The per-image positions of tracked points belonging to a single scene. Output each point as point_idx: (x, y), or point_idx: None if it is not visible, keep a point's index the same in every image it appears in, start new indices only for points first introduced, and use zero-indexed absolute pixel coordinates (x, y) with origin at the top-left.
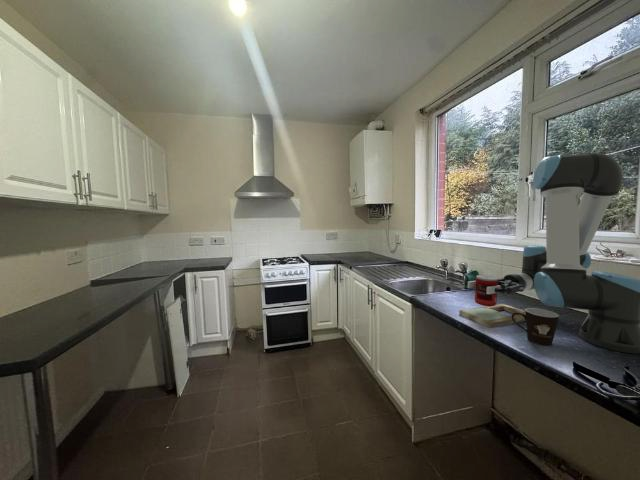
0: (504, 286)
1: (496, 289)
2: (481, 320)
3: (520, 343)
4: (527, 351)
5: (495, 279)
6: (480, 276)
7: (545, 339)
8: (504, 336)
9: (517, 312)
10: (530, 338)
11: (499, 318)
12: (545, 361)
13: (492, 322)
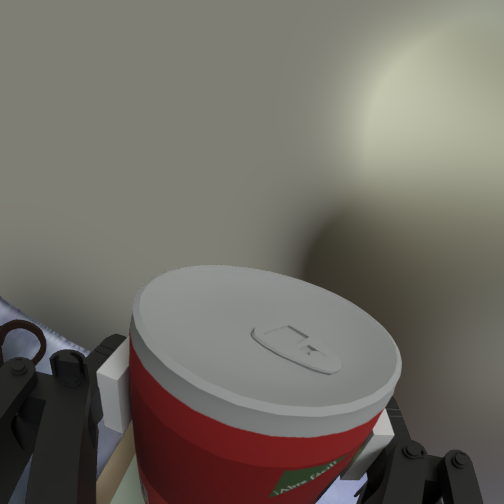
0: (58, 366)
1: (122, 341)
2: None
3: (35, 367)
4: (27, 336)
5: (148, 282)
6: (353, 336)
7: None
8: None
9: (23, 322)
10: None
11: (114, 493)
12: (5, 315)
13: (126, 431)
